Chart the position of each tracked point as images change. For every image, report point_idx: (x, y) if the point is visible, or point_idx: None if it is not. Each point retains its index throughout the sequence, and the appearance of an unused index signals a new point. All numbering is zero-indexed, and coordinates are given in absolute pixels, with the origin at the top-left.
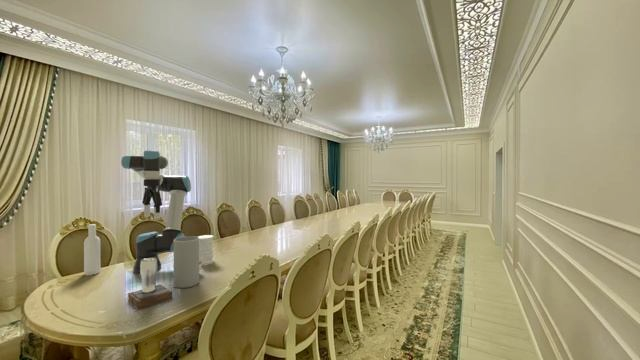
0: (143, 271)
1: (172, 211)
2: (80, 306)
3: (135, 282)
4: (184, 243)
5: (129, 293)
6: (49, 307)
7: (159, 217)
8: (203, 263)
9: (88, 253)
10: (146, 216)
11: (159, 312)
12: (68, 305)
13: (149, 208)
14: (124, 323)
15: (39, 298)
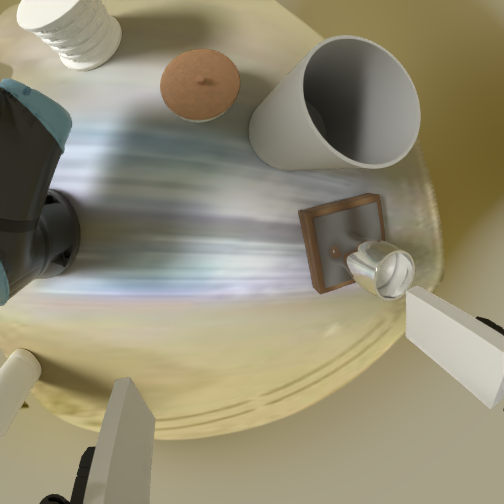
0: (389, 281)
1: None
2: (272, 370)
3: (162, 271)
4: (411, 132)
5: (322, 291)
6: (236, 412)
7: (425, 295)
8: (115, 46)
9: (18, 408)
10: (146, 408)
11: (411, 229)
12: (249, 389)
13: (117, 462)
14: (410, 286)
15: (167, 432)
